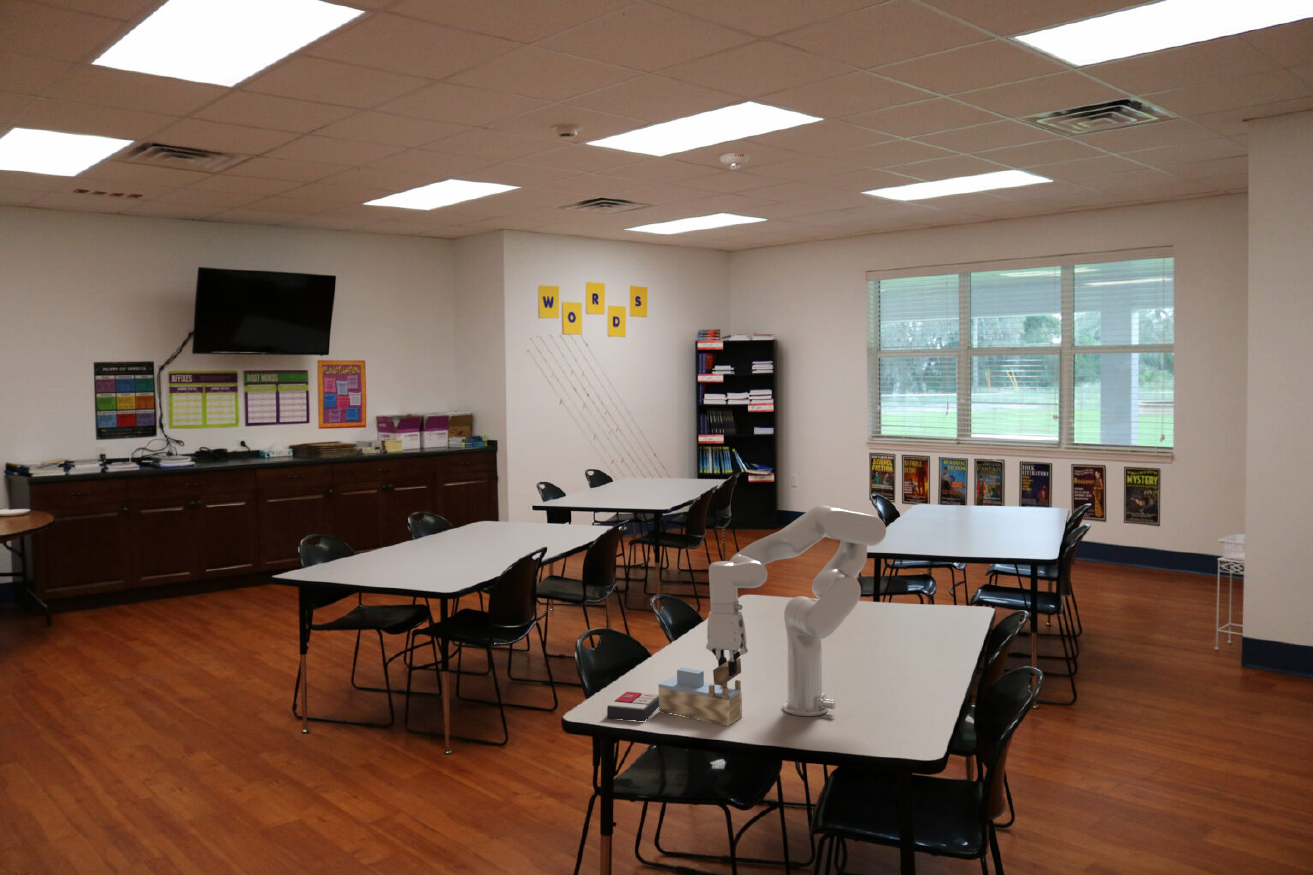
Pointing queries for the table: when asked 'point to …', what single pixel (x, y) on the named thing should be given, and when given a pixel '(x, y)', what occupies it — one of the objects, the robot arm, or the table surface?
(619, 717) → the grey red box
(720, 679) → the brown wooden block
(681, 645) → the table surface
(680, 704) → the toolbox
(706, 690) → the lid
